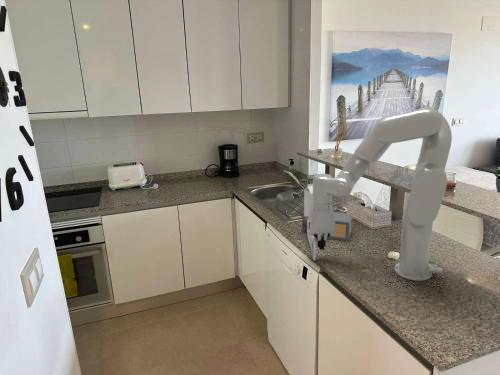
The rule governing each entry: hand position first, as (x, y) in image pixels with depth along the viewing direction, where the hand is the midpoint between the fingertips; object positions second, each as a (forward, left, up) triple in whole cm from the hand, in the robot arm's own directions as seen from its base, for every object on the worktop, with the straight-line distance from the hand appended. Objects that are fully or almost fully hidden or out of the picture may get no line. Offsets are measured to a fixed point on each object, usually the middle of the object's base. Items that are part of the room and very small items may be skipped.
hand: (321, 248), depth 139 cm
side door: (+6, -8, -4) cm, 11 cm away
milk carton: (+12, -45, -5) cm, 47 cm away
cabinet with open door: (+2, -26, -5) cm, 26 cm away
